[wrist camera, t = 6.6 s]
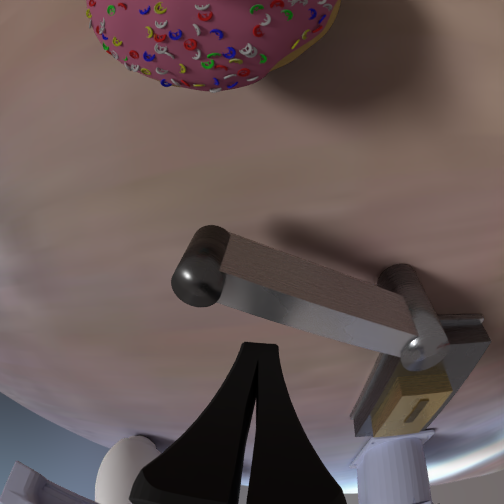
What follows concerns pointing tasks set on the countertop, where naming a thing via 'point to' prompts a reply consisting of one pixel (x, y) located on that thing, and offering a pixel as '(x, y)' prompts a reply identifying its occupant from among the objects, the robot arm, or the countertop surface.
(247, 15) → the cupcake
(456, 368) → the grey rectangular plate
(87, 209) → the countertop surface
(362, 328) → the lever
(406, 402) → the yellow slotted box
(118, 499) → the sauce bottle
